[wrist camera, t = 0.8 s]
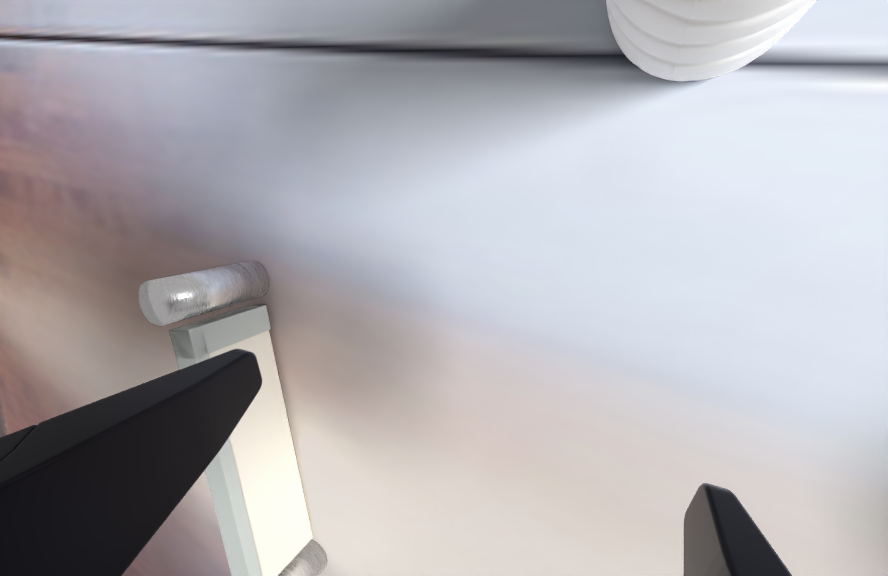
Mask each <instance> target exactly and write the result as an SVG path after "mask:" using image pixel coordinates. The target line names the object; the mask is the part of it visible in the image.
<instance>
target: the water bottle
mask: <svg viewBox="0 0 888 576" xmlns="http://www.w3.org/2000/svg"><path fill="white" fill-rule="evenodd" d="M816 1H817V0H606V5H607V11H608V18H609V22H610V26H611V29H612V32H613V35H614V38H615V40H616V42H617V44H618V45H619V47H620V49H621V50H622V52H623V53H624V54H625V56H626V57H627V58H628V59H629V60H630V61H631V62H632V63H633V64H635V65H637V66H638V67H639V68H640V69H642V70H643V71H645V72H647V73H648V74H651V75H653V76H656V77H659V78H662V79H666V80H672V81H691V80H693V81H699V80H706V79H710V78H714V77H718V76H721V75H724V74H727V73H729V72H732V71H734V70H736V69H738V68H740V67H742V66H744V65H746V64H748V63H749V62H751V61H753V60H754V59H756V58H757V57H759V56H760V55H762V54H763V53H764V52H766V51H767V50H768V49H770V48H771V47H772V46H773V45H774V44H775V43H777V42H778V41H779V40H780V39H781V38H782V37H783V36H784V35H785V34H786V33H787V32H788V31H789V30H790V29H791V28H792V27H793V26H794V25H795V24H796V23H797V22H798V21H799V20H800V18H801V17H802V16H803V15H804V14H805V13H806V11H807V10H808V9H809V8H810V7H811V6H812V5H813V4H814V3H815V2H816Z"/></svg>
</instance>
